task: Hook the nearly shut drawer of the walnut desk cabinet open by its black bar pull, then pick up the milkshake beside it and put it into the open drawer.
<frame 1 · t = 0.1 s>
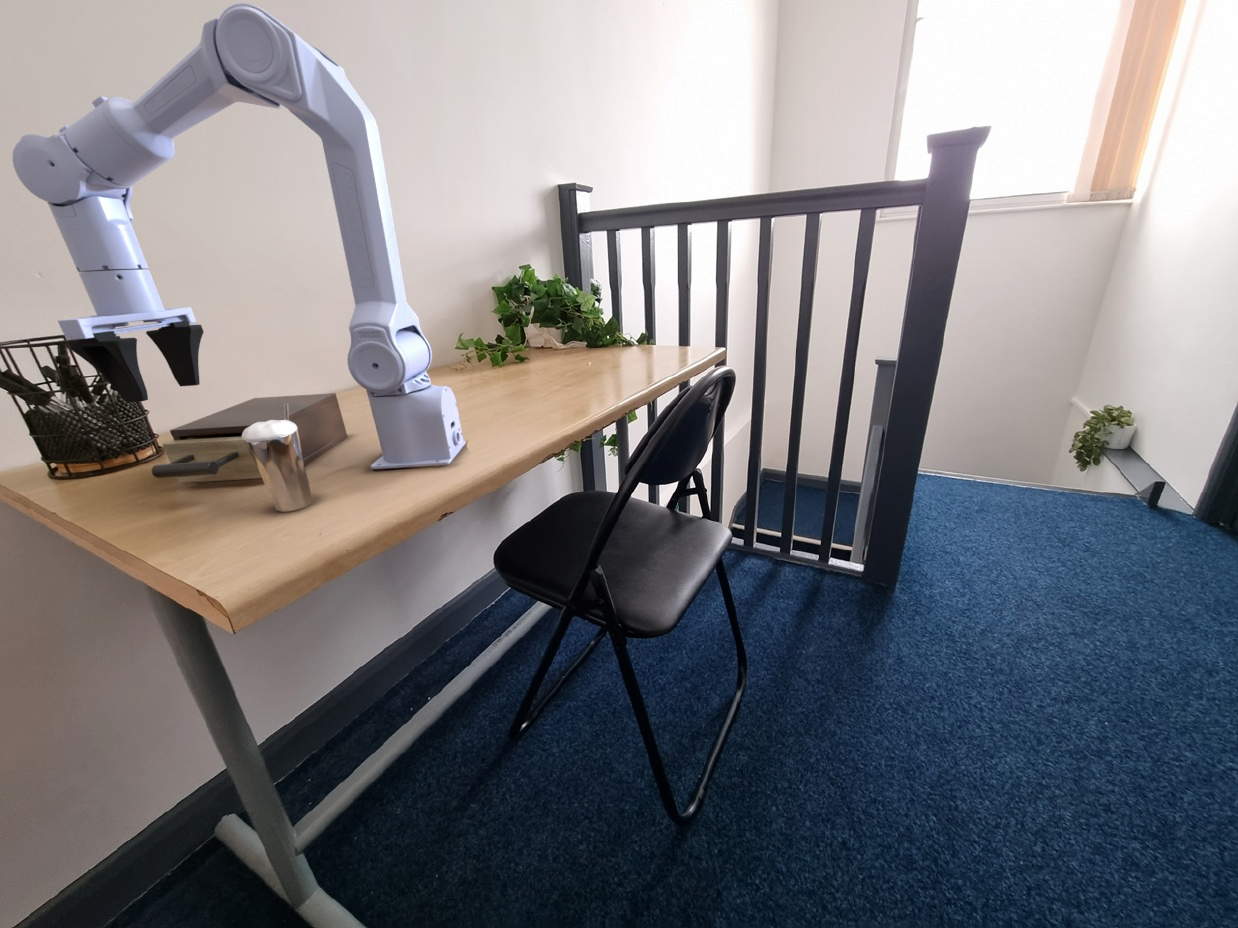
hand: (165, 392, 59), 10 cm above the table, tool pointing down, fingers open, 7 cm apart
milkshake: (298, 505, 52), on the table
drawer: (242, 447, 60), point 3 cm above the table, slide at 1.0 cm
cabinet: (277, 457, 66), on the table
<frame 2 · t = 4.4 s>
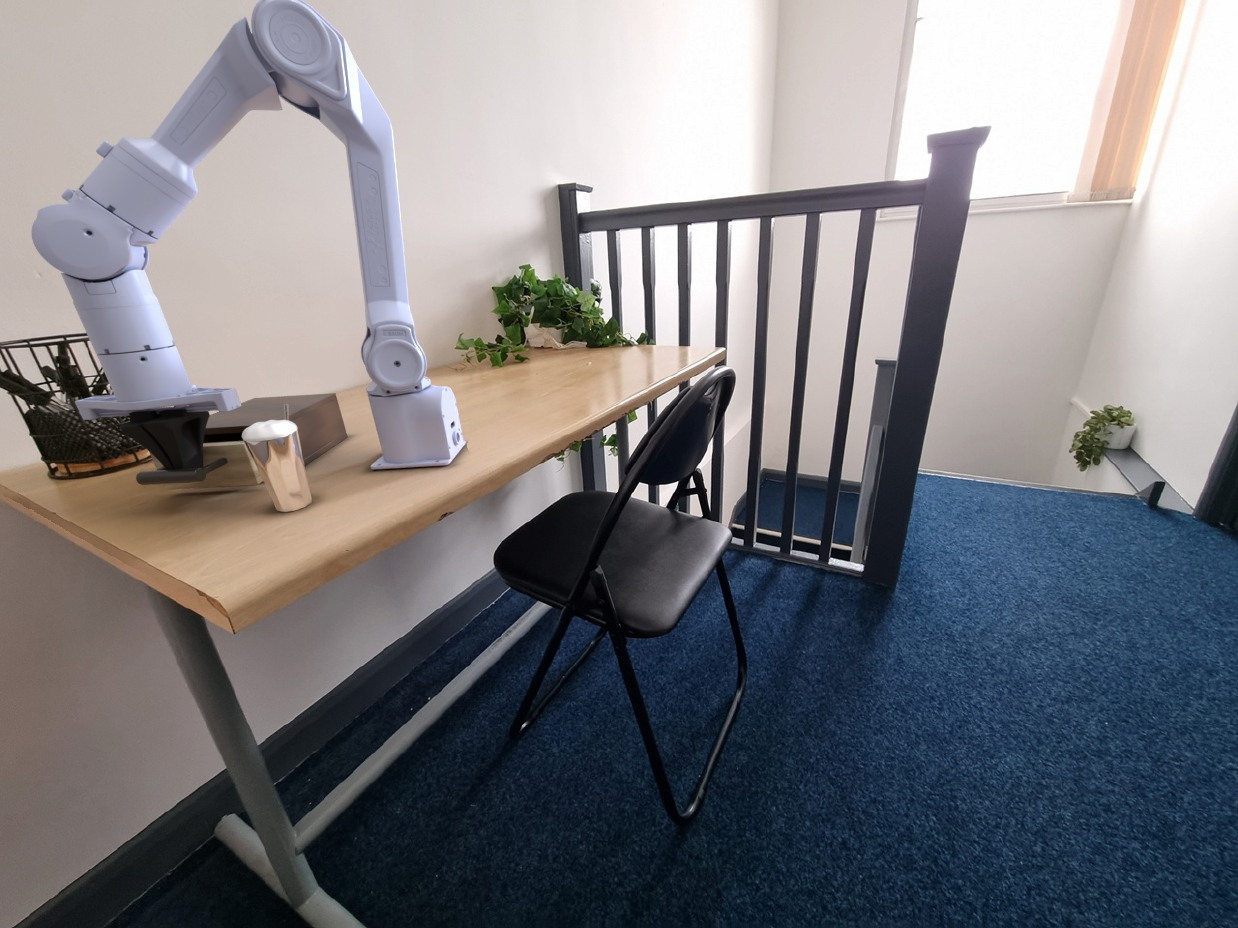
hand: (191, 479, 53), 3 cm above the table, tool pointing down, fingers closed, pressing on drawer
drawer: (232, 453, 58), point 3 cm above the table, slide at 2.8 cm, touching gripper
everything else where it was.
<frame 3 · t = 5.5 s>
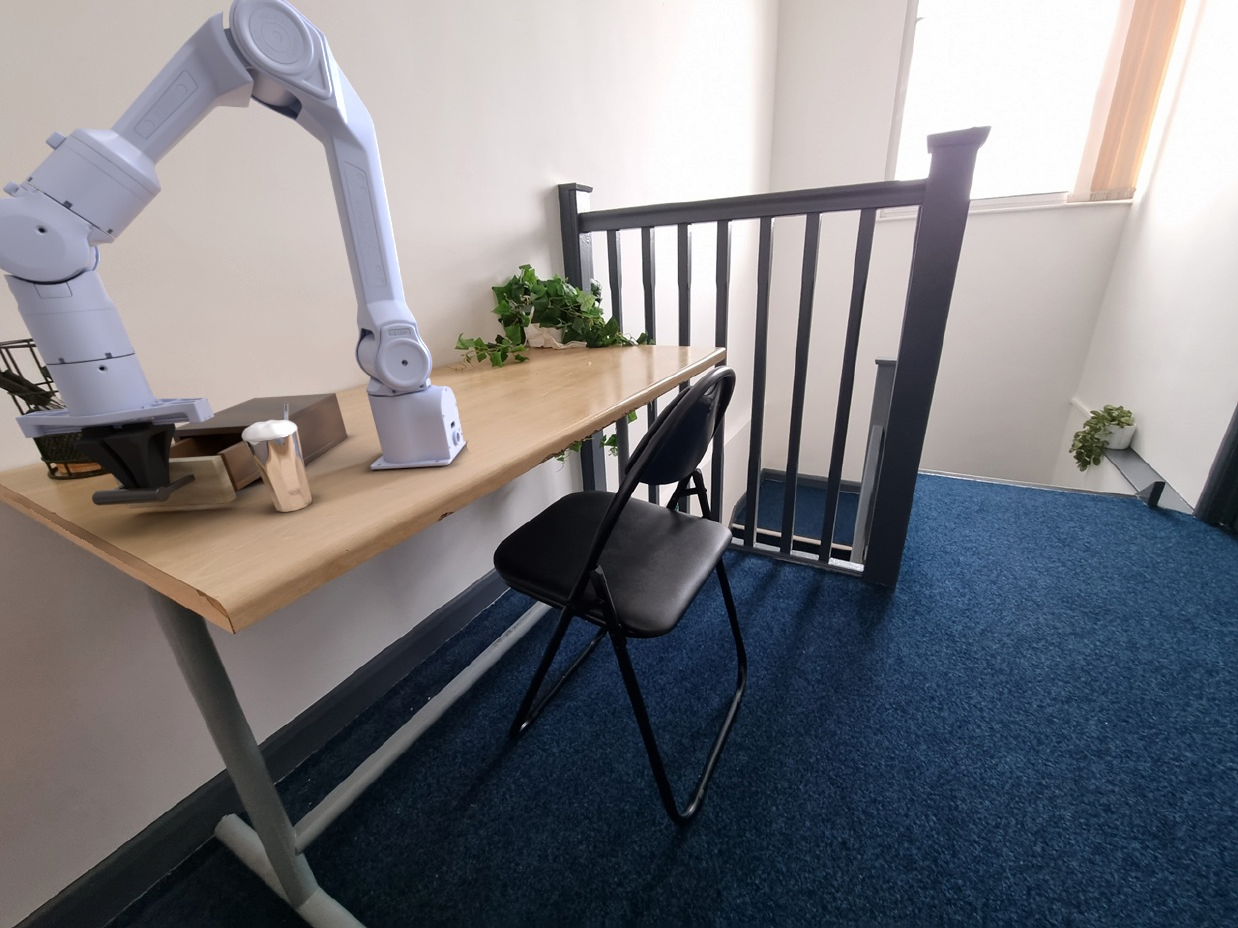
hand: (156, 498, 48), 3 cm above the table, tool pointing down, fingers closed, pressing on drawer
drawer: (202, 467, 54), point 3 cm above the table, slide at 7.4 cm, touching gripper
everything else where it was.
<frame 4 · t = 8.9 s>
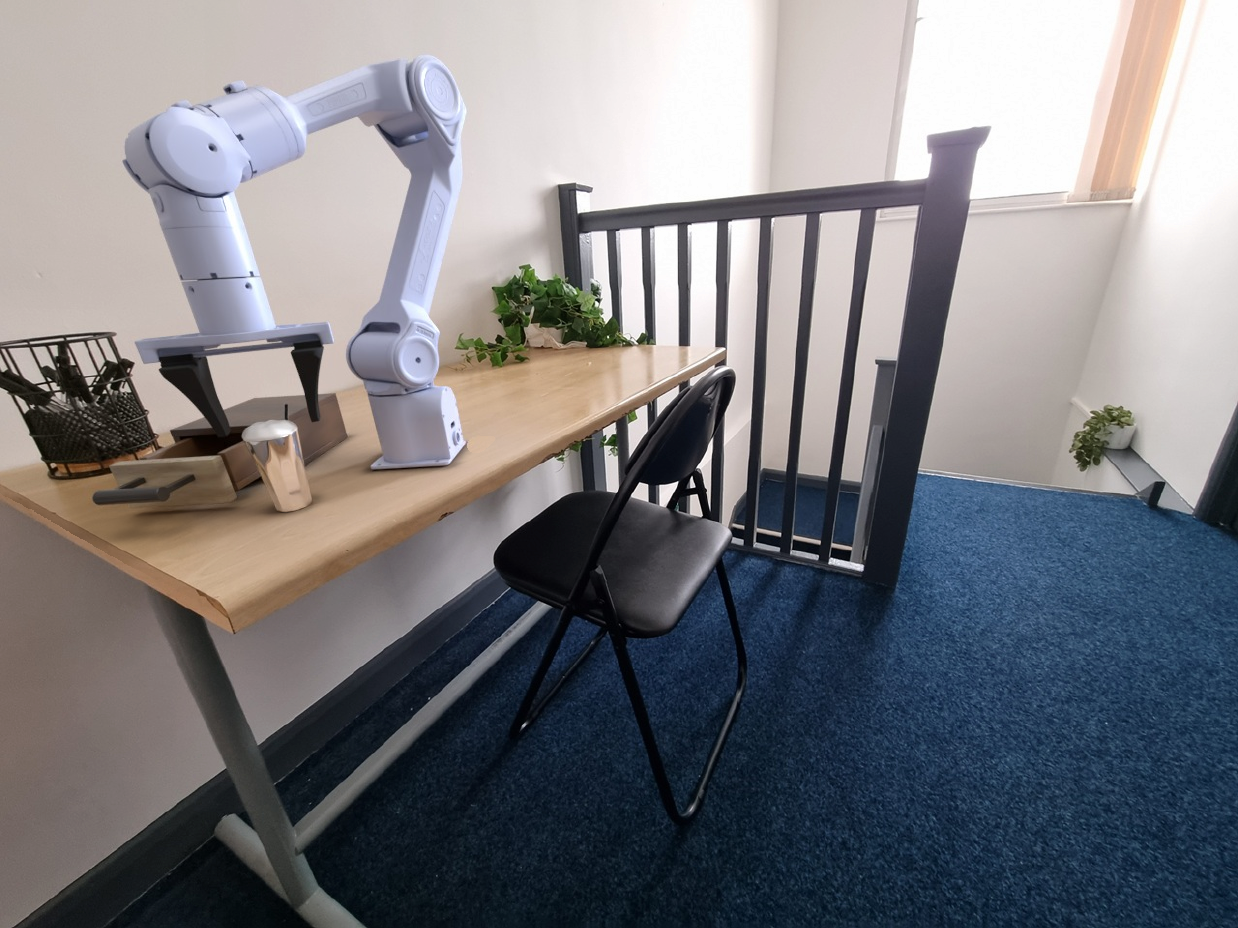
hand: (271, 426, 49), 8 cm above the table, tool pointing down, fingers open, 7 cm apart
drawer: (203, 467, 54), point 3 cm above the table, slide at 7.3 cm
everything else where it was.
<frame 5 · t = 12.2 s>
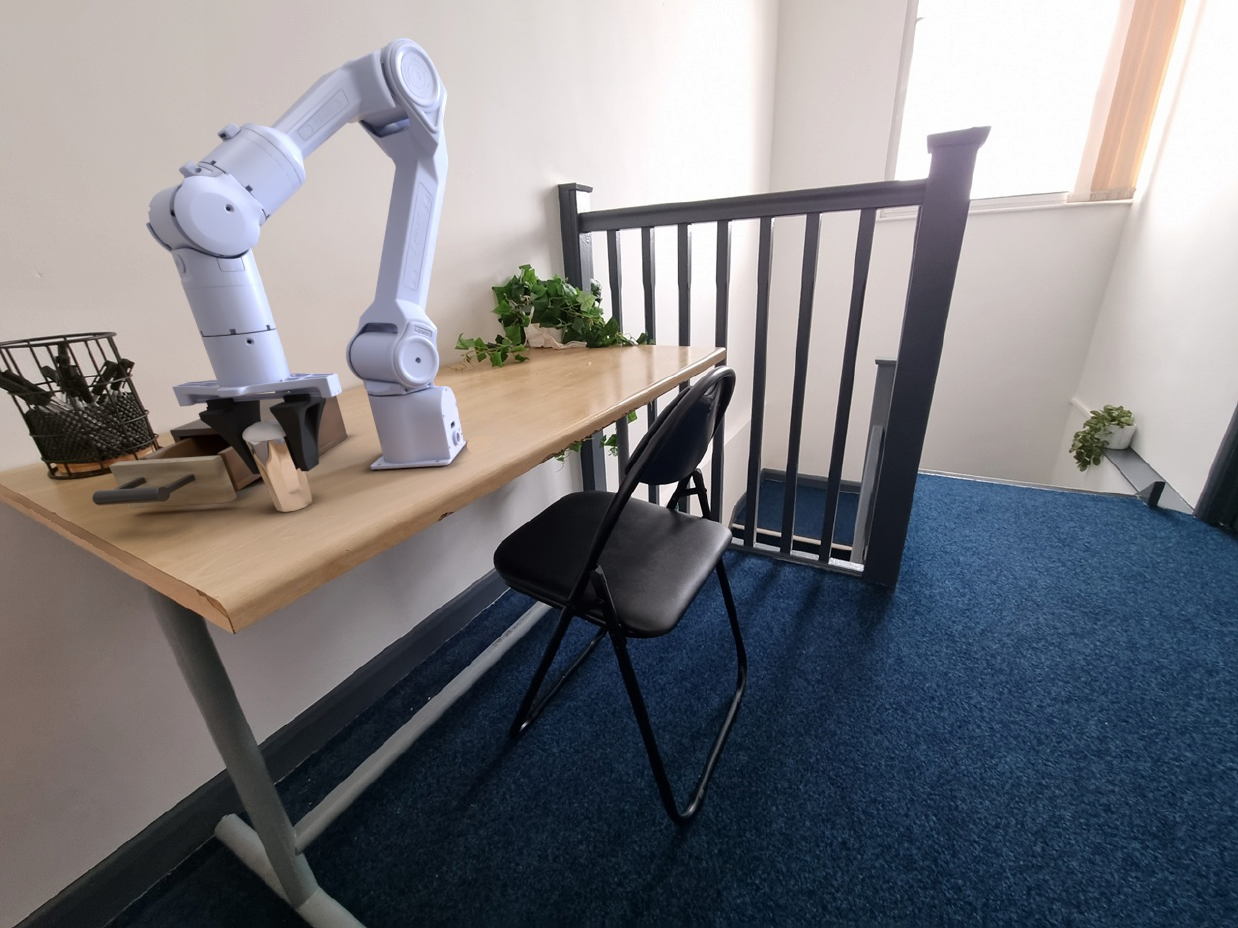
hand: (286, 469, 50), 4 cm above the table, tool pointing down, fingers closed on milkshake, 4 cm apart
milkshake: (298, 504, 52), on the table, touching gripper
everything else where it was.
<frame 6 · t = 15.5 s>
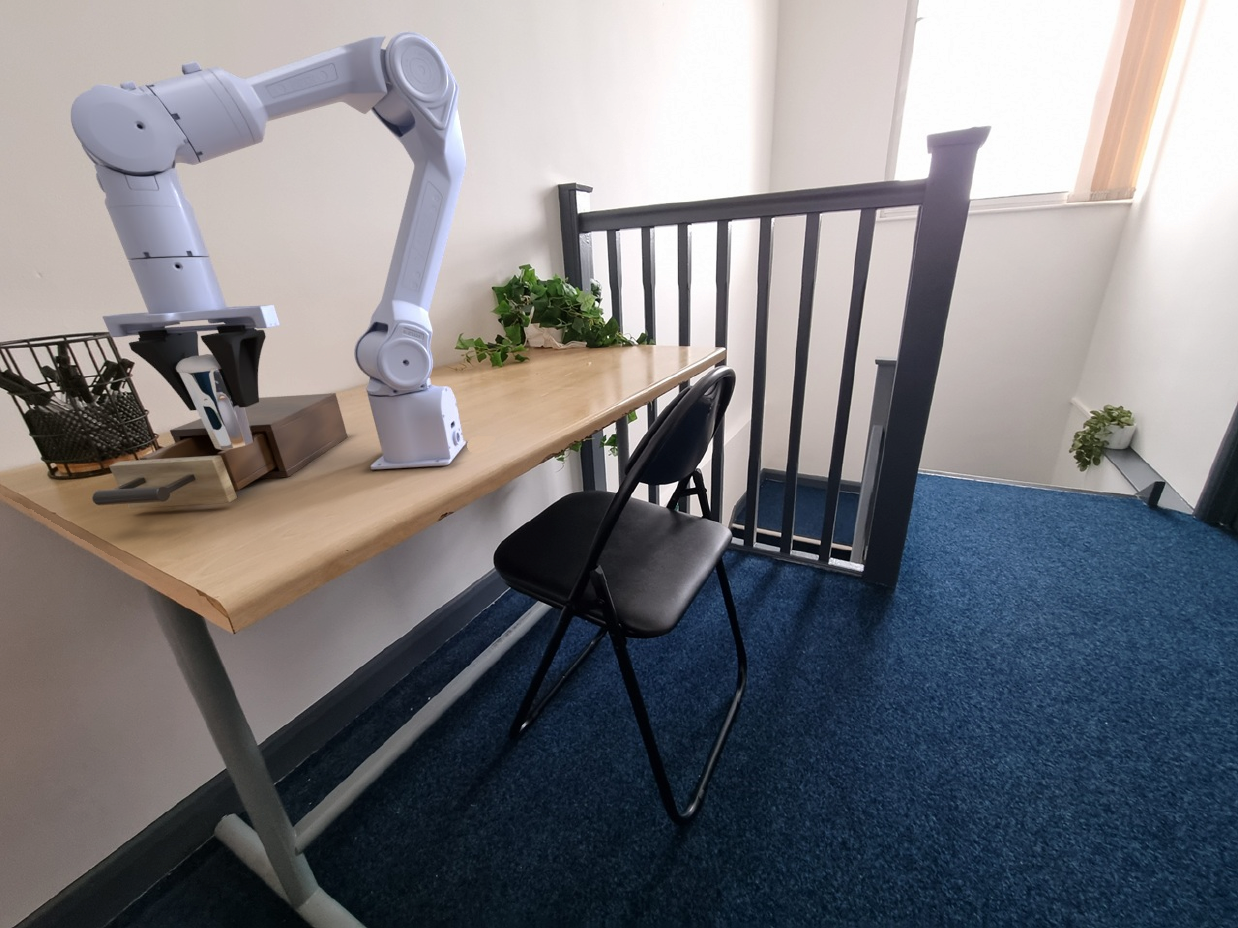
hand: (224, 406, 49), 10 cm above the table, tool pointing down, fingers closed on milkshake, 4 cm apart
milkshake: (239, 444, 51), point 6 cm above the table, touching gripper
everything else where it was.
when the fingers open (6 cm above the table, at t = 18.9 s): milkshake stays where it is, resting on drawer.
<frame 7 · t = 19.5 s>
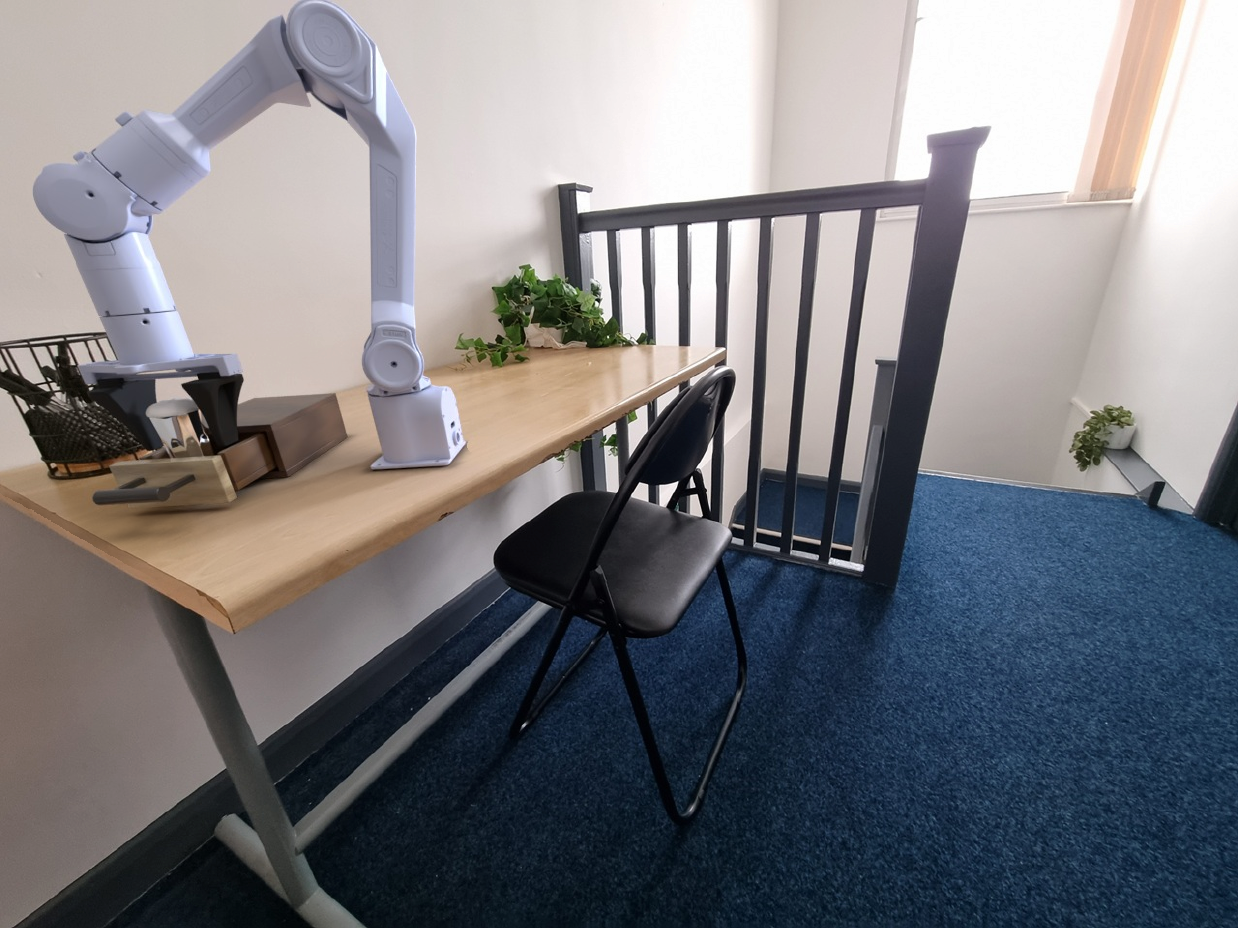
hand: (193, 445, 53), 6 cm above the table, tool pointing down, fingers open, 7 cm apart
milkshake: (208, 480, 55), point 2 cm above the table, touching drawer
drawer: (203, 467, 54), point 3 cm above the table, slide at 7.3 cm, touching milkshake
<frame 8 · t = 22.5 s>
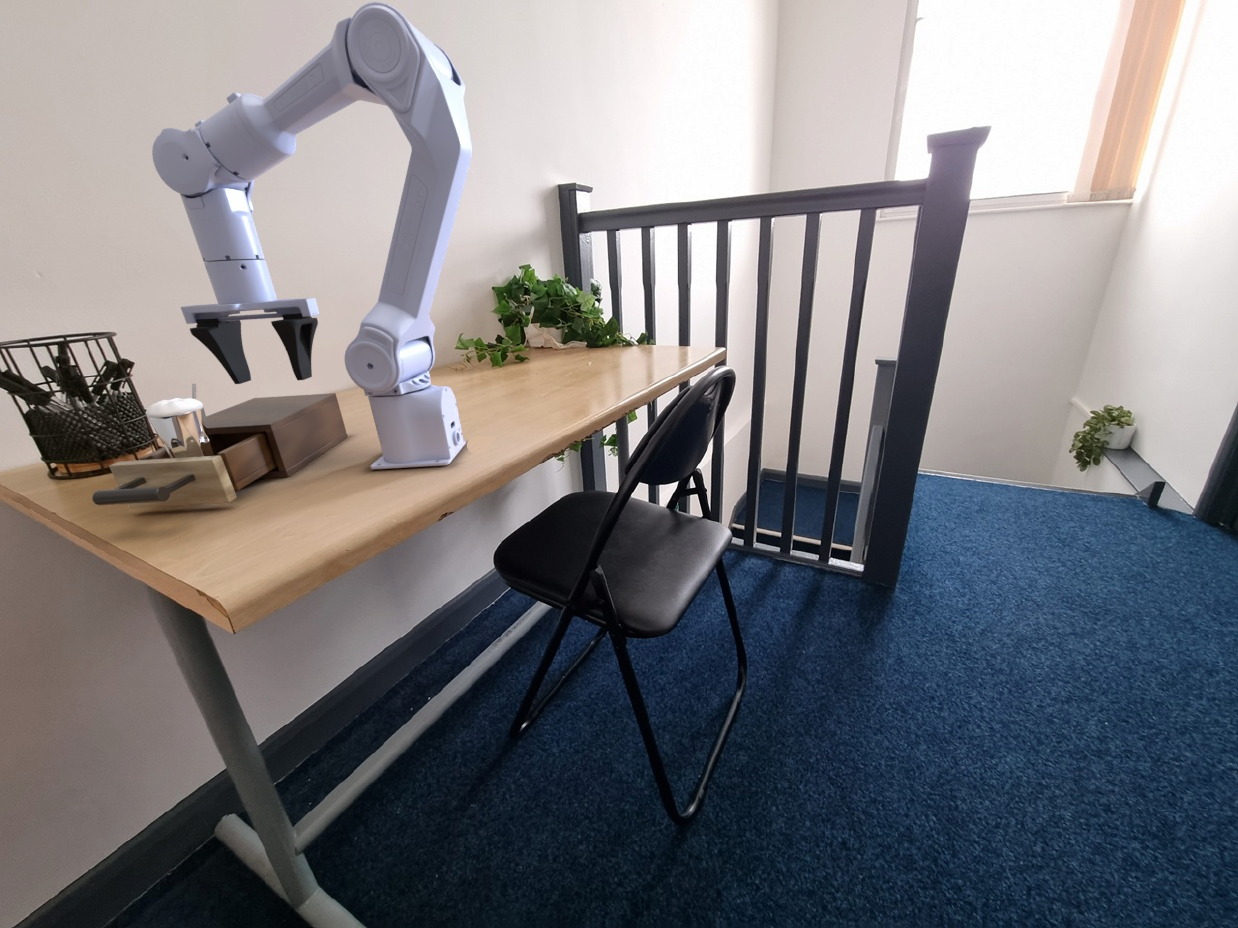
hand: (274, 380, 61), 10 cm above the table, tool pointing down, fingers open, 7 cm apart
nothing on the table moved.
at the end: drawer slide at 7.3 cm; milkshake inside the target area in the drawer (1.0 cm from its centre), point 1.8 cm above the cabinet's base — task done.
